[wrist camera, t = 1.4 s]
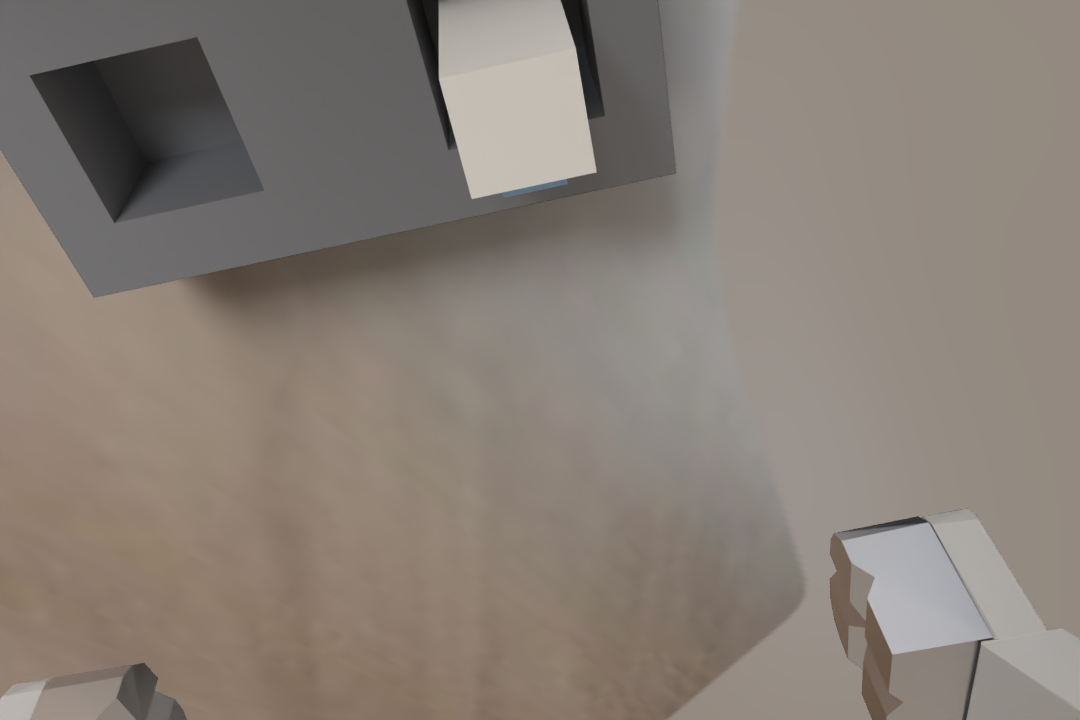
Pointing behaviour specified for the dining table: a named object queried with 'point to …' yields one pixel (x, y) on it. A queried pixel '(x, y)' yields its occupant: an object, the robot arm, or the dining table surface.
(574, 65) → the plug
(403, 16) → the socket block
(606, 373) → the dining table surface
